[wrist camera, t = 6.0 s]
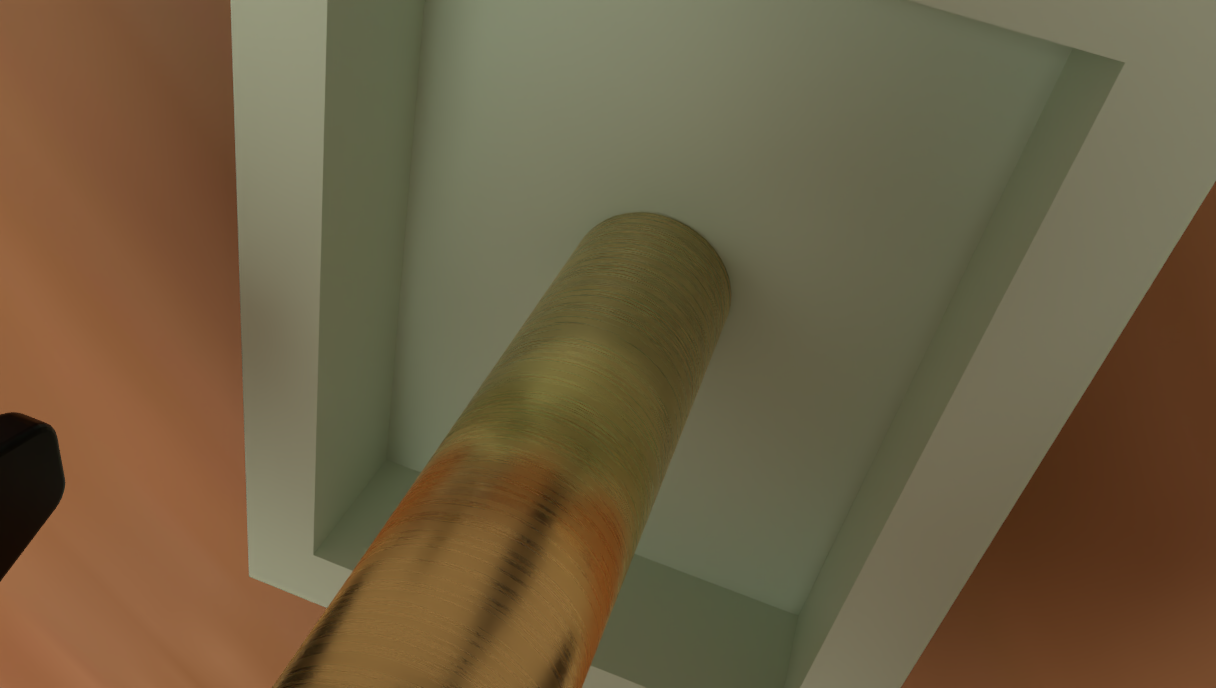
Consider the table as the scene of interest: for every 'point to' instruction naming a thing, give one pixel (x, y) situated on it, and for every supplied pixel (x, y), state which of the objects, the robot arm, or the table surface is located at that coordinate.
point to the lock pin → (536, 481)
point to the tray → (753, 257)
